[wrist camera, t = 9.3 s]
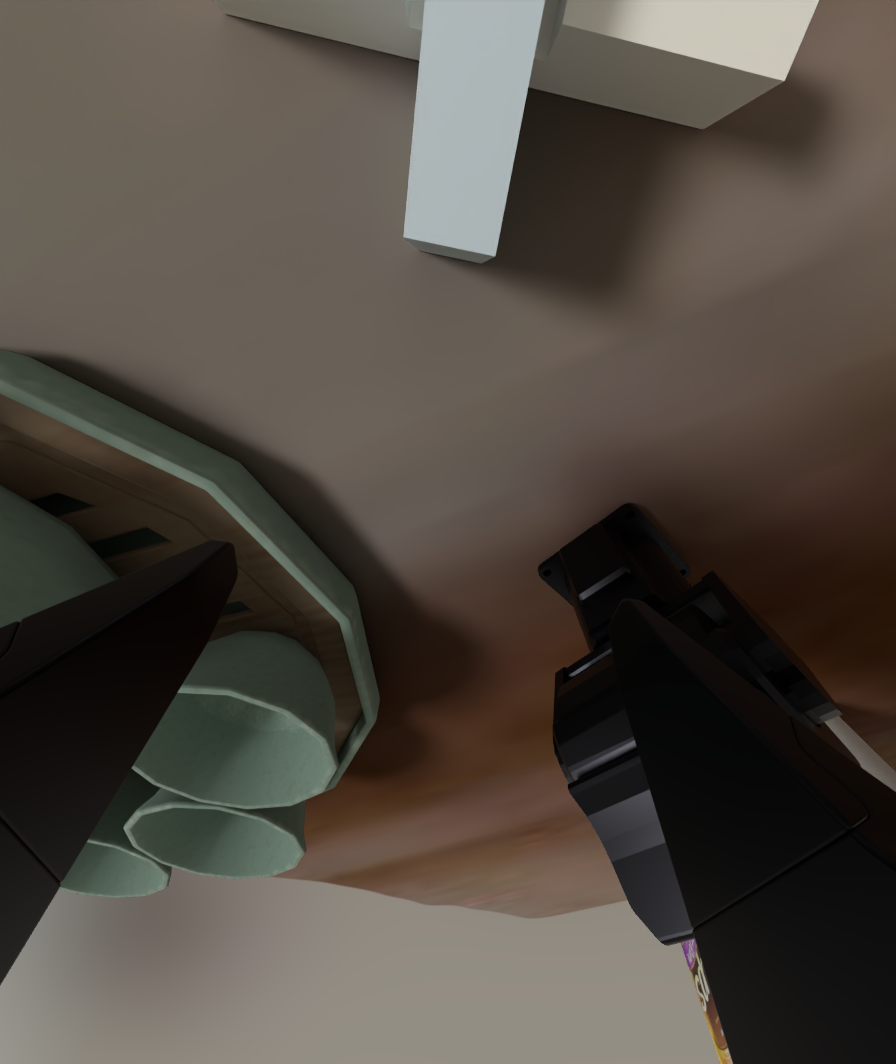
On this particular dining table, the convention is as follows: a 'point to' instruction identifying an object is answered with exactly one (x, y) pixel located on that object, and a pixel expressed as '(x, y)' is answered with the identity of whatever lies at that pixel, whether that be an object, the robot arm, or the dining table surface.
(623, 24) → the slotted rib
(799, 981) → the robot arm
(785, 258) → the dining table surface
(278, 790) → the tea set
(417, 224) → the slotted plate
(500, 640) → the dining table surface
